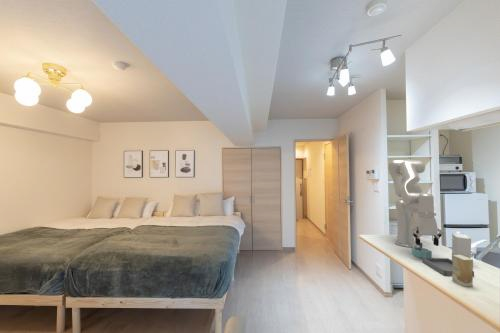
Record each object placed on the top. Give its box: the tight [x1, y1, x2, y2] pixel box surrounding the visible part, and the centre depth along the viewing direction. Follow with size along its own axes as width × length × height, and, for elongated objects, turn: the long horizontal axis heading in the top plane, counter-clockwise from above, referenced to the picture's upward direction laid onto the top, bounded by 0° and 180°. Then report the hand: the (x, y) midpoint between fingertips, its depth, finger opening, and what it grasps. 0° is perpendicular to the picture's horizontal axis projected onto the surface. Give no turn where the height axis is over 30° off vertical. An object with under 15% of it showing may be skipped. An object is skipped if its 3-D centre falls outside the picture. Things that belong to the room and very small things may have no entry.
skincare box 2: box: [451, 255, 474, 287], centre depth 113 cm, size 6×4×12 cm
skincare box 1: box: [451, 232, 472, 261], centre depth 137 cm, size 8×7×16 cm
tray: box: [421, 257, 475, 278], centre depth 129 cm, size 18×14×2 cm
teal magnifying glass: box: [410, 246, 433, 259], centre depth 147 cm, size 12×8×6 cm, turn 175°
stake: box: [418, 242, 424, 251], centre depth 148 cm, size 3×3×8 cm
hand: (427, 245), depth 142 cm, fingers open, 9 cm apart
